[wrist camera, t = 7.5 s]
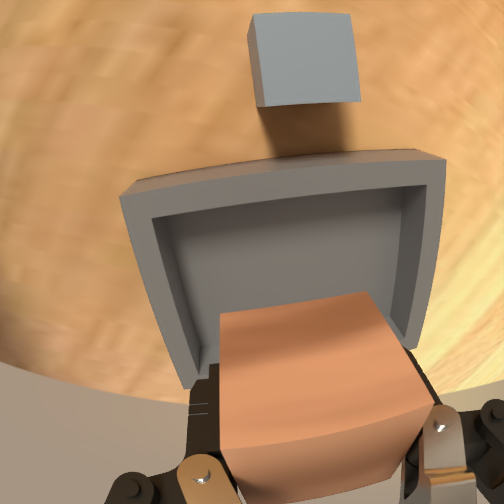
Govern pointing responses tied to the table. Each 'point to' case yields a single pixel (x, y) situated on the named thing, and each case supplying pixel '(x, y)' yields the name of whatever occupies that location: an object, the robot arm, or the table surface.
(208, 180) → the charcoal tray
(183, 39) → the table surface
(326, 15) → the grey block
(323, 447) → the terracotta block
